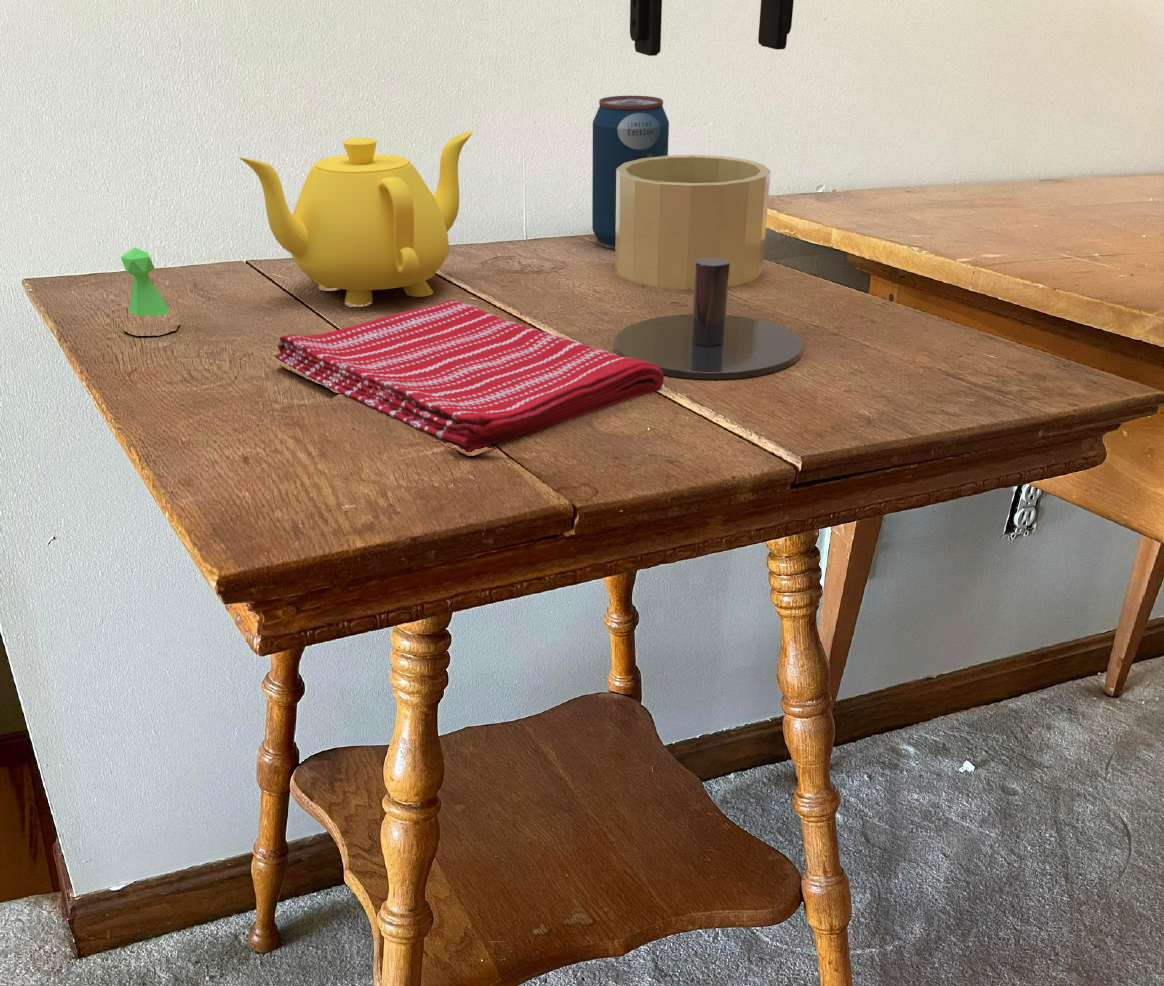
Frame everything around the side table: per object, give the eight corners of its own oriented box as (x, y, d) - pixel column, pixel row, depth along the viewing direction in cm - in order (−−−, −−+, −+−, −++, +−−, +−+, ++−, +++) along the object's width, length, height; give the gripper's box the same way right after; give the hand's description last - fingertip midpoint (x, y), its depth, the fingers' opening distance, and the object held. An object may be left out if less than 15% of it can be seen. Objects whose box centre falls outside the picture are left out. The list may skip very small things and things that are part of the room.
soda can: (660, 253, 111) (664, 106, 103) (586, 250, 112) (586, 104, 104) (668, 235, 116) (674, 95, 109) (598, 232, 117) (599, 93, 110)
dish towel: (474, 465, 71) (472, 421, 70) (269, 369, 85) (263, 331, 84) (674, 396, 80) (675, 356, 79) (459, 320, 94) (457, 285, 93)
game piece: (186, 332, 92) (170, 249, 89) (129, 340, 91) (110, 257, 87) (174, 317, 95) (158, 237, 92) (119, 325, 94) (100, 244, 90)
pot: (771, 262, 108) (780, 158, 103) (746, 301, 98) (755, 188, 93) (636, 253, 111) (638, 151, 106) (599, 290, 101) (599, 180, 96)
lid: (812, 336, 91) (823, 243, 87) (785, 396, 80) (796, 294, 76) (639, 322, 94) (641, 232, 90) (591, 378, 83) (592, 279, 79)
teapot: (302, 335, 91) (278, 170, 85) (235, 290, 101) (209, 139, 95) (526, 294, 100) (521, 142, 93) (444, 256, 110) (434, 116, 103)
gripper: (618, -281, 69) (615, 62, 79) (880, -272, 74) (844, 50, 84) (575, -269, 75) (577, 50, 85) (821, -262, 79) (794, 39, 90)
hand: (710, 50), depth 84 cm, fingers open, 9 cm apart
